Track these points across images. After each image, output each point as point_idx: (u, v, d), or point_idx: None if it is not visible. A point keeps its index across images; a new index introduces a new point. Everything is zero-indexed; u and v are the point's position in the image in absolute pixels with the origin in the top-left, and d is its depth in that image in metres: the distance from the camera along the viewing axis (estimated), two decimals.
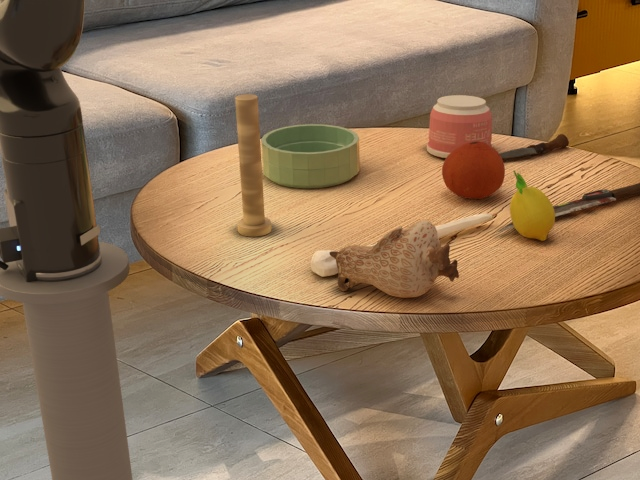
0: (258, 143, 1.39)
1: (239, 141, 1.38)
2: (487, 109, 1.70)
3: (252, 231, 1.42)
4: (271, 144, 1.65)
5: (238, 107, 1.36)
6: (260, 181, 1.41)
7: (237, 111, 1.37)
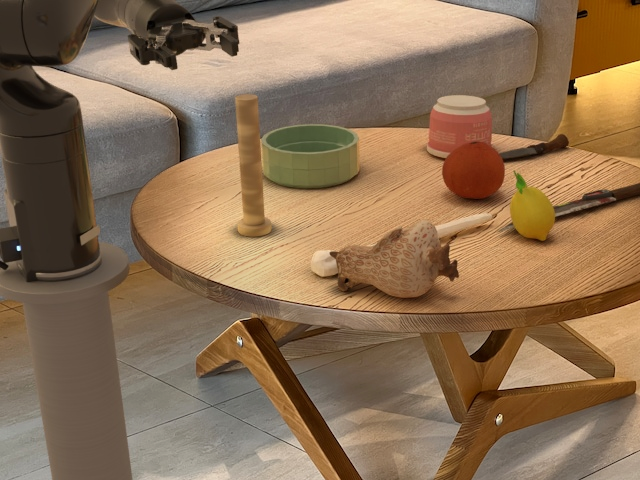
0: (258, 143, 1.39)
1: (239, 141, 1.38)
2: (487, 109, 1.70)
3: (252, 231, 1.42)
4: (271, 144, 1.65)
5: (238, 107, 1.36)
6: (260, 181, 1.41)
7: (237, 111, 1.37)
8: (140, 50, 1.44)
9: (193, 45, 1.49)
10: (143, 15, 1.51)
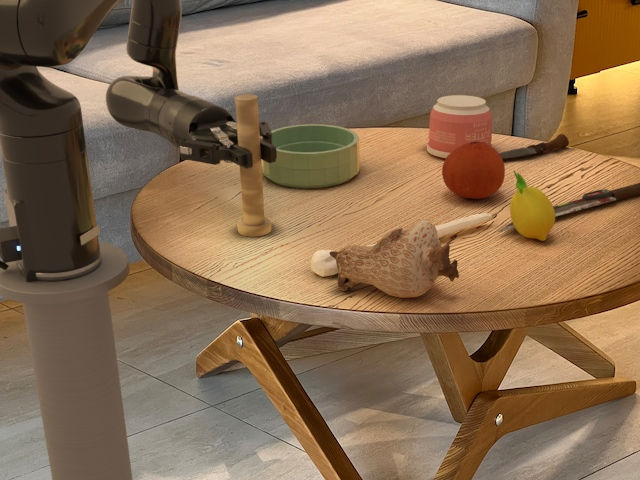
0: (258, 143, 1.39)
1: (239, 141, 1.38)
2: (487, 109, 1.70)
3: (252, 231, 1.42)
4: None
5: (238, 107, 1.36)
6: (260, 181, 1.41)
7: (237, 111, 1.37)
8: (211, 149, 1.38)
9: None
10: (183, 117, 1.46)
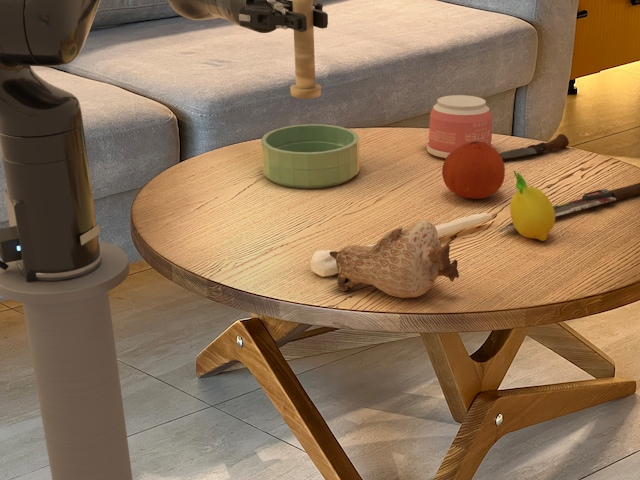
0: (311, 10, 1.52)
1: (294, 8, 1.52)
2: (487, 109, 1.70)
3: (304, 93, 1.56)
4: (271, 144, 1.65)
5: None
6: (312, 46, 1.54)
7: None
8: (268, 15, 1.52)
9: None
10: None
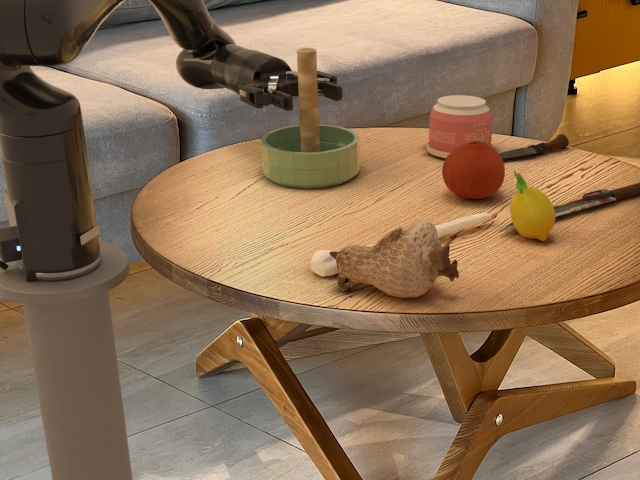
0: (316, 91, 1.59)
1: (299, 89, 1.58)
2: (487, 109, 1.70)
3: None
4: (271, 144, 1.65)
5: (299, 59, 1.56)
6: (317, 125, 1.61)
7: (298, 62, 1.57)
8: (256, 94, 1.58)
9: (298, 93, 1.63)
10: (248, 67, 1.65)
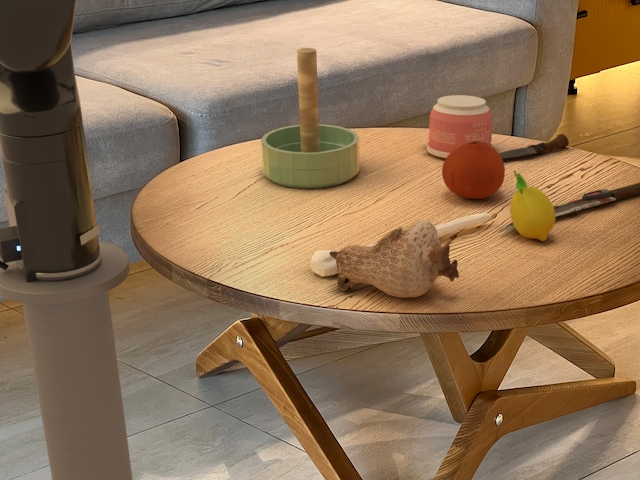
0: (316, 91, 1.59)
1: (299, 89, 1.58)
2: (487, 109, 1.70)
3: None
4: (271, 144, 1.65)
5: (299, 59, 1.56)
6: (317, 125, 1.61)
7: (298, 62, 1.57)
8: None
9: None
10: None
